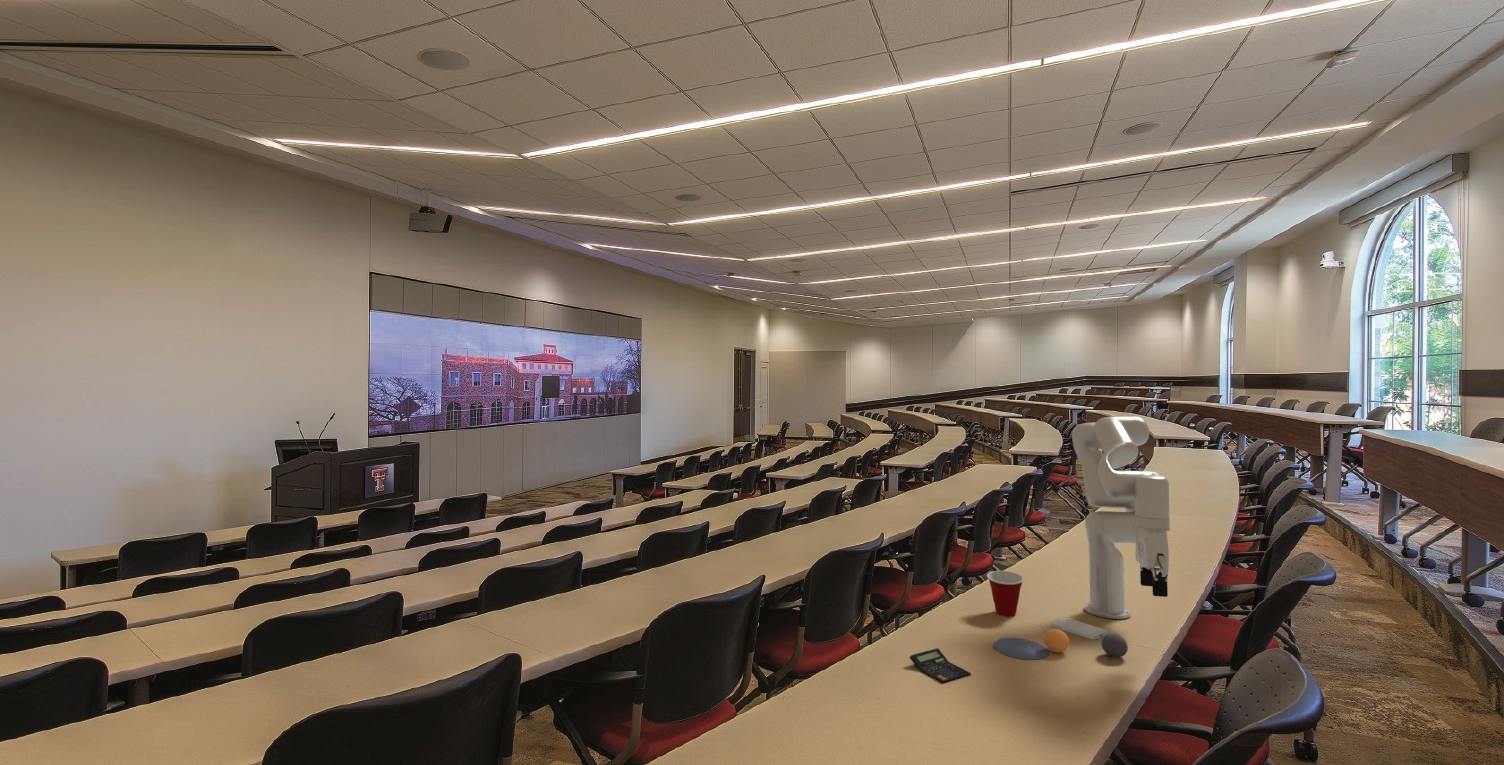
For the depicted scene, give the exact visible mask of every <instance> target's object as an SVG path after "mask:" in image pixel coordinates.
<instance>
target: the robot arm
mask: <svg viewBox="0 0 1504 765" xmlns="http://www.w3.org/2000/svg"><path fill="white" fill-rule="evenodd" d="M1071 435H1072V439H1071V440H1072V444H1073V445H1072V446H1073V448H1074V449H1073V450H1074V451H1075V455H1076V456H1077V458H1078V460H1079V462H1080V465H1081V468H1082V477H1083V481H1084V489H1085V490H1084V491H1085V496H1086V500H1087V502H1088V504H1089V505H1090V506H1092V507H1095V508H1108V509H1124V510H1125V511H1109V510H1108V511H1107V510H1105V511H1103V510H1101V511H1100V510H1099V511H1098V510H1097V511H1093V512H1090V513H1088V515H1087V516H1086V517H1085V521H1084V525H1085V532H1086V537H1087V544H1088V546H1087V547H1088V562H1089V564H1088V568H1089V576H1088V577H1089V578H1088V579H1089V602H1087V603H1085V604H1084V610H1085V611H1086V612H1087V613H1089V614H1091V615H1093V616H1097V617H1100V618H1104V619H1111V620H1123V619H1128V618H1129V617H1131V614H1132V612H1131V610H1130V609H1129V608H1127V607H1126V606H1125V604H1126V601H1125V565H1124V564H1125V562H1124V561H1125V560H1124V557H1123V554H1122V553H1121V551H1120V550H1119V549H1118V548H1117V547H1116V546H1115V544H1119V543H1120V544H1121V543H1122V544H1135V556H1134V557H1135V561H1136V562H1137V563H1139V569H1140V570H1139V571H1140V572H1139V574H1140V576H1139V579H1140V585H1141V586H1143V587H1151V588H1152V590H1151V591H1152V595H1153V597H1159V598H1160V597H1161V598H1162V597H1164V598H1166V597H1168V594H1169V593H1168V592H1169V591H1168V581H1169V579H1168V576H1169V575H1168V573H1169V569H1170V568H1169V567H1170V552H1169V551H1170V550H1169V541H1168V532H1170V528H1171V527H1170V526H1171V524H1170V483H1169V480H1168V479H1167V478H1166V477H1165V476H1162V475H1160V474H1159V473H1158V472H1155V471H1151V470H1150V471H1149V470H1117V469H1119V468H1122V467H1125V466H1127V465H1129V464H1132V462H1134V461H1135V460H1136V459H1137V458H1138V455H1139V448H1138V447H1140V446H1142V445H1144V444H1146V443H1147V442H1148V440H1149V437H1150V429H1149V425H1148V424H1147V422H1146V421H1145V420H1144V419H1143V418H1141V417H1139V416H1105V417H1101V418H1099V419H1098V420H1097V421H1096V422H1083V423H1080V424H1077V425H1076V426H1075V427H1074V428H1073V430H1072V432H1071ZM1099 449H1101V450H1102V451H1103V453H1102V452H1101V451H1099Z"/></svg>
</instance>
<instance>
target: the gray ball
mask: <svg viewBox="0 0 1504 765" xmlns="http://www.w3.org/2000/svg"><path fill="white" fill-rule="evenodd" d="M1101 638H1102V639H1101V648H1102V650H1103V651H1104V652H1105V654H1106V655H1108V656H1110V657H1111V658H1115V659H1118V658H1119V659H1120V658H1122V657H1124V656H1125V655H1126V654H1127V653H1128V648H1129V647H1128V642H1127V640H1126V639H1125V638H1124V637H1123V636H1122V635H1120V634H1118V633H1114V632H1109V633H1108V634H1106V635H1104V636H1102V637H1101Z"/></svg>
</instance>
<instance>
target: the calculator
mask: <svg viewBox="0 0 1504 765" xmlns="http://www.w3.org/2000/svg"><path fill="white" fill-rule="evenodd" d="M909 659H910V660H911V661H912V664H914V666H915V667H916V668H917V670H920V671H919V672H921V673H923V674H925V675H926V674H927V675H926V676H928V677H930V676H931V677H930V678H932V677H933V678H934V679H933V678H932V679H933V680H935V679H936V681H937V680H938V681H937V682H939V683H941V684H943V685H944V684H946V683H951V682H953V681H957V680H960V679H963V678H966V677H969V676H971V675H972V673H971V672H970V671H968V670H966V669H965V668H962V667H960V666H959V665H956V664H954V663H952V662H950V661H949V660H948V659H947V657H946V656H945V654H944V653H943V652H942V651H941V650H940V649H939V647H937V648H933V649H930V650H926V651H923V652H917V653H914V654H911V655H910V656H909ZM965 676H966V677H965ZM962 677H963V678H962Z"/></svg>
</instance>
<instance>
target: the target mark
mask: <svg viewBox="0 0 1504 765" xmlns="http://www.w3.org/2000/svg"><path fill="white" fill-rule="evenodd" d="M993 648H994V649H995V650H996V651H997V652H998V651H999V652H998V653H1000V654H1002V655H1004V656H1007V657H1010V658H1013V659H1017V658H1019V660H1026V661H1037V660H1043V659H1045V658H1048V657H1049V655H1050V651H1049V650H1050V649H1049V648H1048V647H1047V646H1046V645H1043V644H1041V643H1039V642H1036V641H1034V640H1030V639H1026V638H1020V637H1004V638H999V639H996V640H995V641H993Z"/></svg>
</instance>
